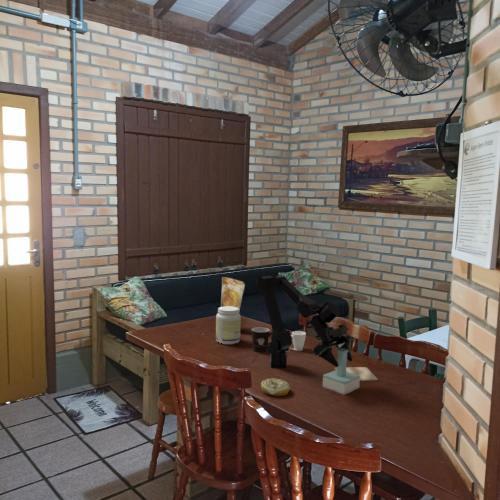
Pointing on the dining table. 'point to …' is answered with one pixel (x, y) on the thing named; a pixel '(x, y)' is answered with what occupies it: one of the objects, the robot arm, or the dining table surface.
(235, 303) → the pancake mix bag
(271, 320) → the robot arm
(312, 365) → the dining table surface
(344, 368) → the lid
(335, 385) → the tub
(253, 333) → the coffee mug
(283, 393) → the decorated donut
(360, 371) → the board
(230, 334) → the supplement tub
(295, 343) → the cup
